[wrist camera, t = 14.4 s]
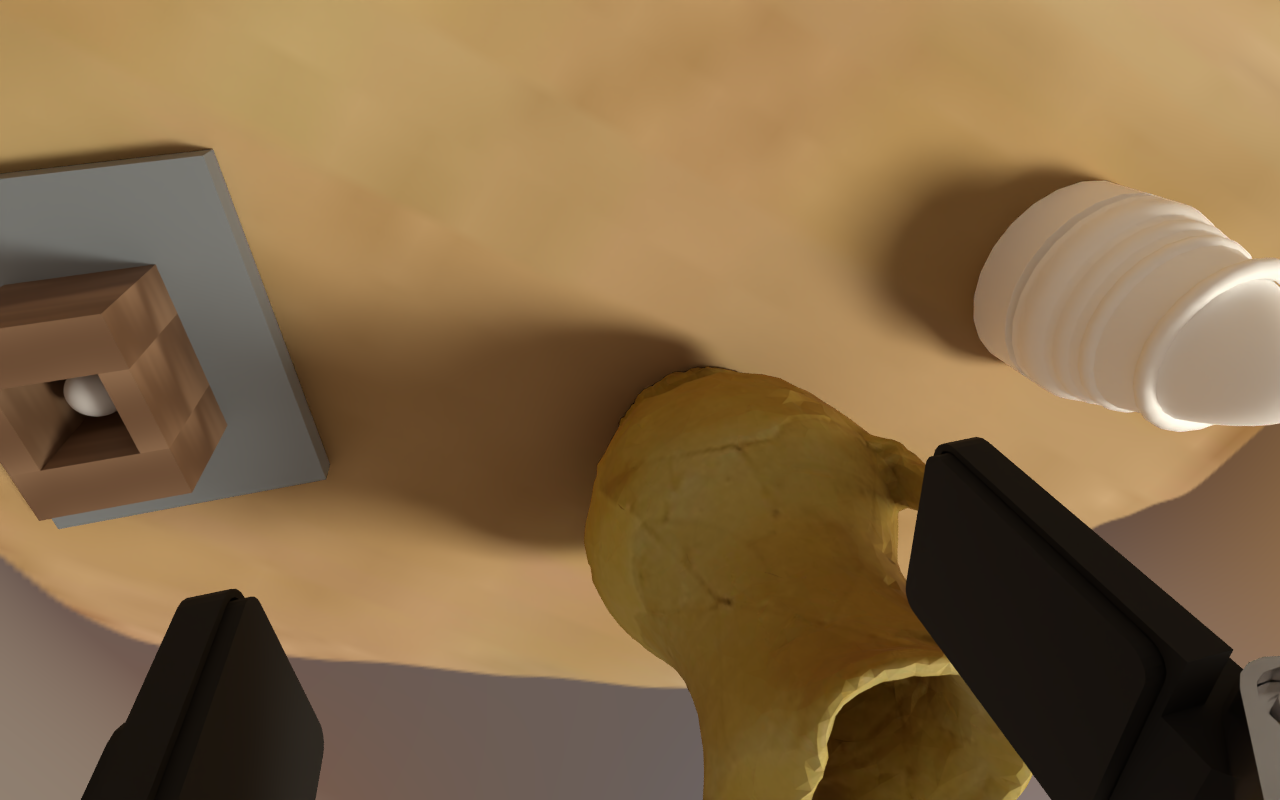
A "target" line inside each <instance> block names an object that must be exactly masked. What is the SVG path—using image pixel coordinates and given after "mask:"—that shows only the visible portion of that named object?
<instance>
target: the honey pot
mask: <svg viewBox="0 0 1280 800" xmlns="http://www.w3.org/2000/svg"><path fill="white" fill-rule="evenodd" d="M1274 281H1276V282H1277V283H1278V284H1279V285H1280V259H1277V258H1258V259H1252V257H1251V255H1250V254H1249V253H1248V252H1247V251H1246V250H1245V249H1244V248H1243V247H1242V246H1241V245H1240V244H1239V243H1237V242H1236V241H1234V240H1230V239H1229V238H1228V237H1227V236H1226V235H1225V234H1223V233H1222V232H1221V231H1220V230H1219V229H1218V228H1216V227H1214V224H1213V223H1212V222H1211V221H1209V220H1208V219H1207V218H1206V217H1205V216H1204V215H1203V214H1202V213H1201V212H1200V211H1198V210H1197V209H1195V208H1193V207H1192V206H1189V205H1186V204H1183V203H1179V202H1176V201H1173V200H1169V199H1166V198H1163V197H1159V196H1155V195H1152V194H1149V193H1146V192H1143V191H1139V190H1136V189H1132V188H1129V187H1125V186H1122V185H1119V184H1115V183H1112V182H1108V181H1082V182H1079V183H1076V184H1073V185H1070V186H1067V187H1064V188H1061V189H1058V190H1056V191H1054V192H1052V193H1051V194H1049V195H1047V196H1046V197H1044V198H1042V199H1041V200H1039V201H1038V202H1036V203H1034V204H1033V205H1032V206H1030V207H1029V208H1028V209H1027V210H1026V211H1025V212H1024V213H1023V214H1022V215H1020V216H1019V217H1018V218H1017V219H1016V220H1015V221H1014V222H1013V223H1012V224H1011V225H1010V226H1009V227H1008V229H1007V230H1006V231H1005V233H1004V234H1003V235H1002V236H1001V238H1000V239H999V240H998V242H997V243H996V244H995V246H994V247H993V249H992V251H991V253H990V255H989V257H988V258H987V260H986V262H985V264H984V266H983V268H982V270H981V272H980V276H979V280H978V284H977V287H976V291H975V295H974V323H975V326H976V330H977V333H978V336H979V339H980V340H981V342H982V343H983V344H984V346H985V347H986V348H987V350H988V351H989V352H990V353H991V354H993V355H994V356H995V357H997V358H998V359H1000V360H1001V361H1003V362H1004V363H1006V364H1007V365H1009V366H1010V367H1012V368H1013V369H1015V370H1016V371H1018V372H1019V373H1021V374H1022V375H1024V376H1026V377H1027V378H1028V379H1030V380H1031V381H1033V382H1035V383H1036V384H1037V385H1038V386H1040V387H1042V388H1043V389H1045V390H1047V391H1048V392H1050V393H1052V394H1053V395H1056V396H1058V397H1061V398H1066V399H1071V400H1077V401H1084V402H1086V403H1091V404H1096V405H1101V406H1103V407H1105V408H1106V409H1109V410H1115V411H1121V412H1139V413H1141V414H1142V416H1143V417H1144V418H1145V419H1146V420H1147V421H1149V422H1150V423H1152V424H1153V425H1155V426H1157V427H1158V428H1161V429H1165V430H1171V431H1177V432H1183V431H1191V430H1199V429H1203V428H1206V427H1209V426H1211V425H1214V424H1216V425H1230V426H1259V425H1271V424H1278V423H1280V287H1279V286H1278V285H1277V284H1276V283H1275V282H1274Z"/></svg>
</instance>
